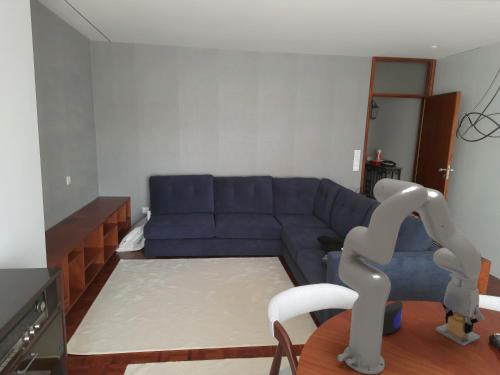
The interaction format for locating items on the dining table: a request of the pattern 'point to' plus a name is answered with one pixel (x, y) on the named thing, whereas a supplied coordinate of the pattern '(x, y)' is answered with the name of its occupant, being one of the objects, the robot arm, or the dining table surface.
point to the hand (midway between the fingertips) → (458, 327)
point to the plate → (461, 340)
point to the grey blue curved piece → (392, 317)
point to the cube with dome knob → (457, 324)
